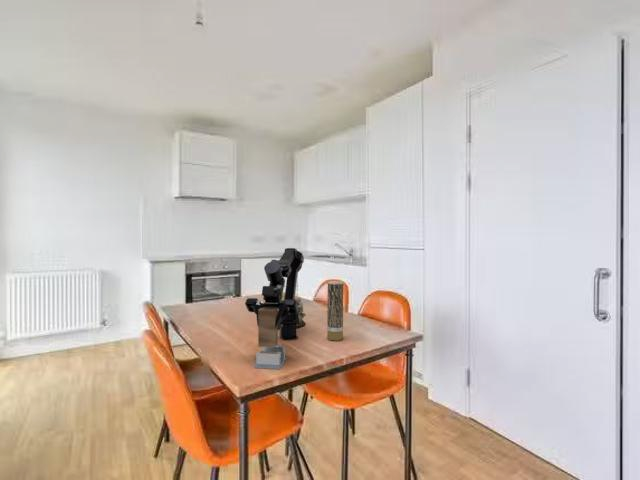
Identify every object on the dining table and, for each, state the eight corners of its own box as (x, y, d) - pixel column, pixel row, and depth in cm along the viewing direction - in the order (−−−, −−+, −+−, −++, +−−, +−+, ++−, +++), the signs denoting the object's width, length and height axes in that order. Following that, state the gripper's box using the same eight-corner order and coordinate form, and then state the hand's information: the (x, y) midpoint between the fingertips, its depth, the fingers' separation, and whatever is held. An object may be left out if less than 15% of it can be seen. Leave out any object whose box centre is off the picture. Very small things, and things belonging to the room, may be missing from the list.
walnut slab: (261, 343, 126) (261, 307, 126) (277, 344, 125) (277, 308, 125) (258, 346, 122) (258, 309, 122) (274, 347, 122) (275, 310, 121)
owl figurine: (281, 332, 162) (280, 296, 161) (267, 327, 171) (266, 292, 170) (310, 325, 174) (310, 291, 173) (296, 321, 182) (296, 288, 182)
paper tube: (342, 336, 156) (342, 280, 155) (343, 341, 149) (344, 283, 148) (326, 336, 155) (327, 280, 155) (327, 341, 149) (328, 283, 148)
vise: (265, 353, 133) (265, 340, 133) (288, 354, 132) (288, 341, 132) (254, 367, 119) (254, 353, 119) (280, 369, 118) (280, 354, 118)
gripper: (246, 276, 128) (235, 313, 118) (296, 277, 126) (289, 315, 115) (254, 293, 136) (243, 329, 126) (300, 295, 134) (294, 332, 123)
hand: (267, 326), depth 122 cm, fingers closed on walnut slab, 6 cm apart
